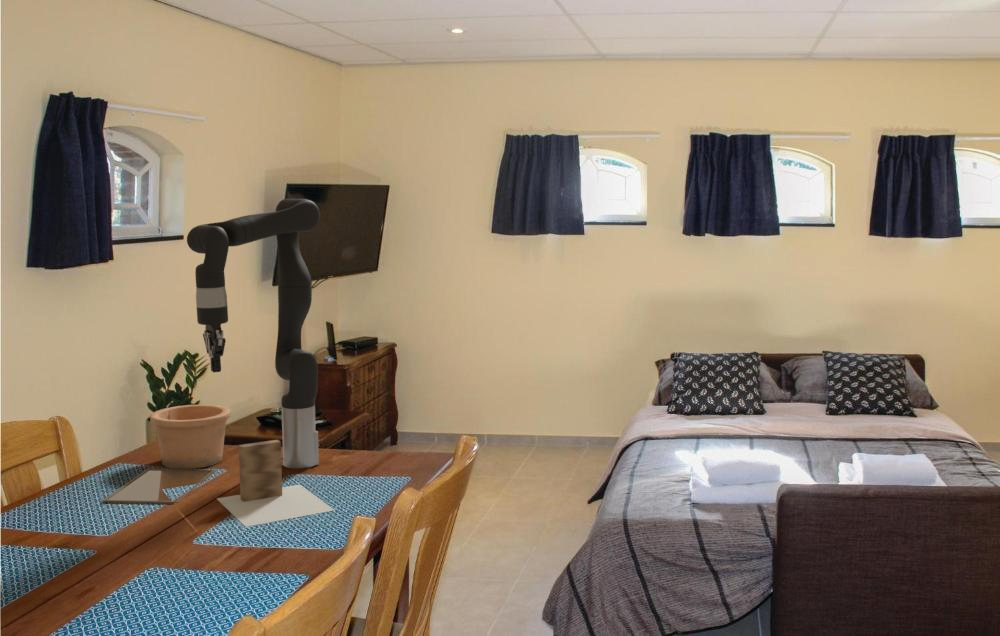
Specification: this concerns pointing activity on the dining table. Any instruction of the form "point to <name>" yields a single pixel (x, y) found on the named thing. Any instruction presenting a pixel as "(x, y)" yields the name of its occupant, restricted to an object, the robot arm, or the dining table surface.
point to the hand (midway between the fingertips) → (216, 371)
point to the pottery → (190, 435)
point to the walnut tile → (260, 470)
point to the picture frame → (157, 485)
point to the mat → (275, 506)
